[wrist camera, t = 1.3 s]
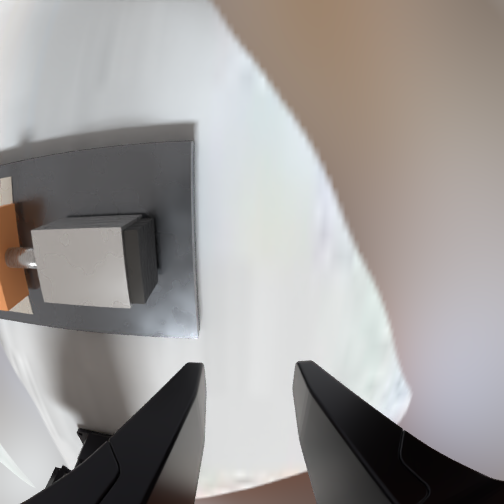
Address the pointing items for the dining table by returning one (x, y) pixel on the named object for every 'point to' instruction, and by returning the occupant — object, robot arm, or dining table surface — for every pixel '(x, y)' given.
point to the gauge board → (110, 204)
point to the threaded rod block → (92, 260)
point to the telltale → (4, 278)
